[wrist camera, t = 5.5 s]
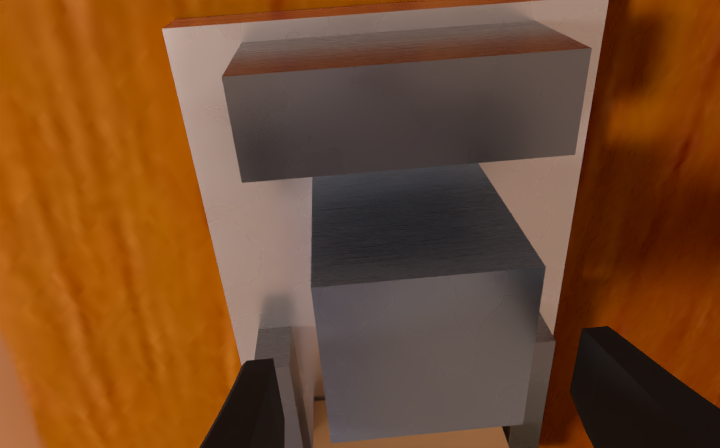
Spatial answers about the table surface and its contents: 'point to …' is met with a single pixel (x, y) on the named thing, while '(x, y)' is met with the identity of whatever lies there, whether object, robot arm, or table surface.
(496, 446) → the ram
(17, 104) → the table surface
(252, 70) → the frame
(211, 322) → the table surface
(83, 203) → the table surface
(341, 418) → the housing
